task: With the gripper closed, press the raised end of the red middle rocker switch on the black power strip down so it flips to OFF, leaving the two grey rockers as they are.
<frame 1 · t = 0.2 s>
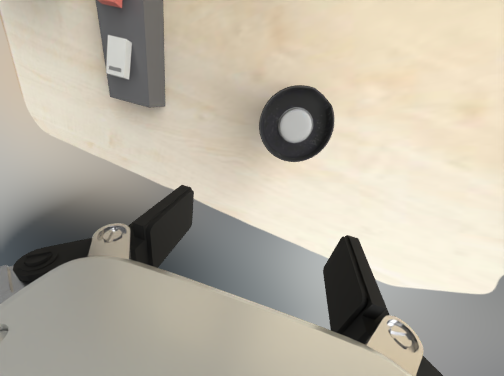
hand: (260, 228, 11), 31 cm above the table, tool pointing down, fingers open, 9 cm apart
travel mug: (297, 111, 36), on the table
power strip: (140, 1, 34), on the table
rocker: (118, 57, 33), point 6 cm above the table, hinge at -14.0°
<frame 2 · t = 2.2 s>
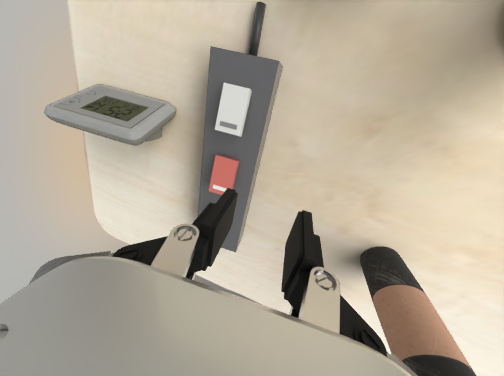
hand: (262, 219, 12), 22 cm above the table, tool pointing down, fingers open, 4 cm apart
travel mug: (379, 259, 38), on the table
digital clock: (141, 109, 35), on the table
power strip: (235, 164, 36), on the table
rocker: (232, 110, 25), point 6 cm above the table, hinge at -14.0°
rocker middle: (223, 176, 30), point 6 cm above the table, hinge at -14.0°
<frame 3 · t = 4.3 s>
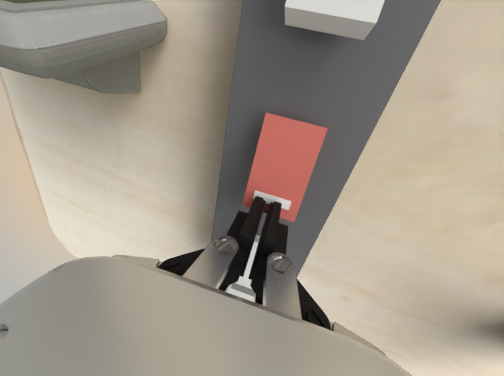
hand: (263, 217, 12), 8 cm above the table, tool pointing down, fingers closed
digital clock: (98, 33, 17), on the table
power strip: (287, 148, 18), on the table
rocker middle: (281, 169, 12), point 6 cm above the table, hinge at -12.8°, touching gripper
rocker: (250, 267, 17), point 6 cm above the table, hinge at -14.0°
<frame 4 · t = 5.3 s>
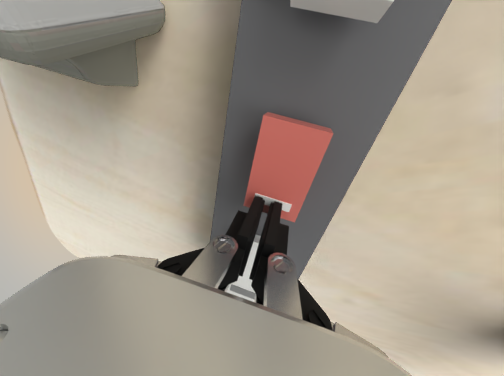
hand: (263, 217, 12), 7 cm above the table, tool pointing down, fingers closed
digital clock: (93, 22, 17), on the table
power strip: (289, 144, 17), on the table
rocker middle: (282, 171, 11), point 6 cm above the table, hinge at 2.2°, touching gripper
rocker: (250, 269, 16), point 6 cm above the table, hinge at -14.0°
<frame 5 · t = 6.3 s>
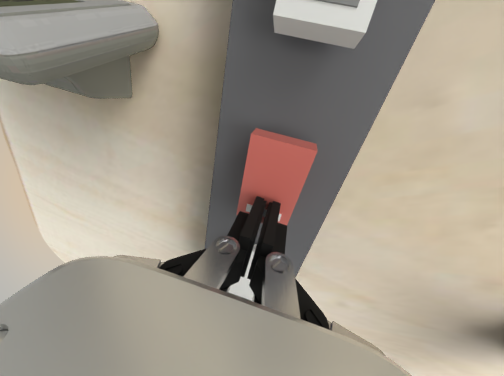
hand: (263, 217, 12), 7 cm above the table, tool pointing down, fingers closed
digital clock: (88, 36, 17), on the table
power strip: (280, 153, 17), on the table
rocker middle: (271, 183, 12), point 6 cm above the table, hinge at 5.4°
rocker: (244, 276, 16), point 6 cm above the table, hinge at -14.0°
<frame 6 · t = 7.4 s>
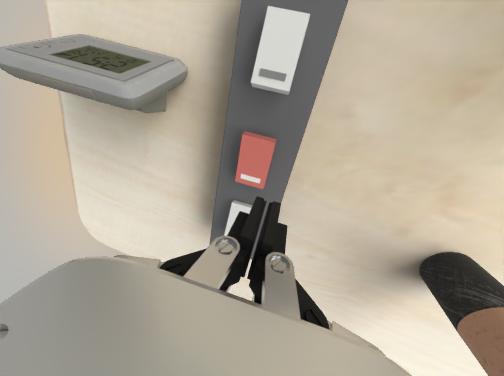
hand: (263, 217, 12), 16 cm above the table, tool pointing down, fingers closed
travel mug: (444, 267, 30), on the table
digital clock: (139, 72, 26), on the table
power strip: (263, 147, 27), on the table
rocker middle: (254, 161, 22), point 6 cm above the table, hinge at 6.3°
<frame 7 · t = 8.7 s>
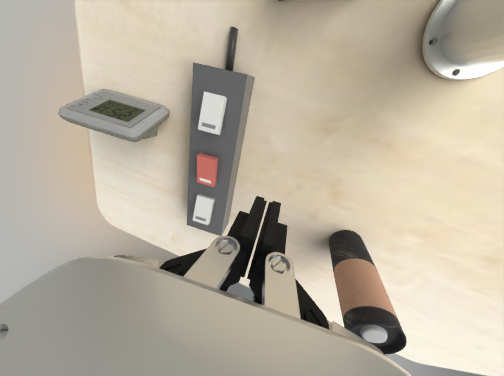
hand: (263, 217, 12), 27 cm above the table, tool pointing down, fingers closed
travel mug: (345, 241, 44), on the table
digital clock: (139, 111, 41), on the table
power strip: (219, 159, 41), on the table
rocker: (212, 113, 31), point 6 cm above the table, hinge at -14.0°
rocker middle: (206, 170, 36), point 6 cm above the table, hinge at 6.5°
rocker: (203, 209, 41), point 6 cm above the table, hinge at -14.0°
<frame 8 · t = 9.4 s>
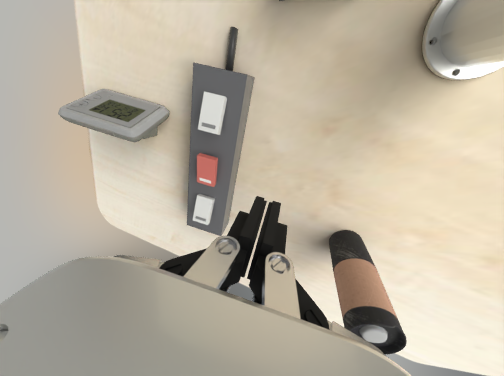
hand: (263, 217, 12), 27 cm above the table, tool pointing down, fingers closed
travel mug: (345, 241, 44), on the table
digital clock: (139, 111, 41), on the table
power strip: (219, 159, 41), on the table
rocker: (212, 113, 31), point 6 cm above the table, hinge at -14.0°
rocker middle: (206, 170, 36), point 6 cm above the table, hinge at 6.5°
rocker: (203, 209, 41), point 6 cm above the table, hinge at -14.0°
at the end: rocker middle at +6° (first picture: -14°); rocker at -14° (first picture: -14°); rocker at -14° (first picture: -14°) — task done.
